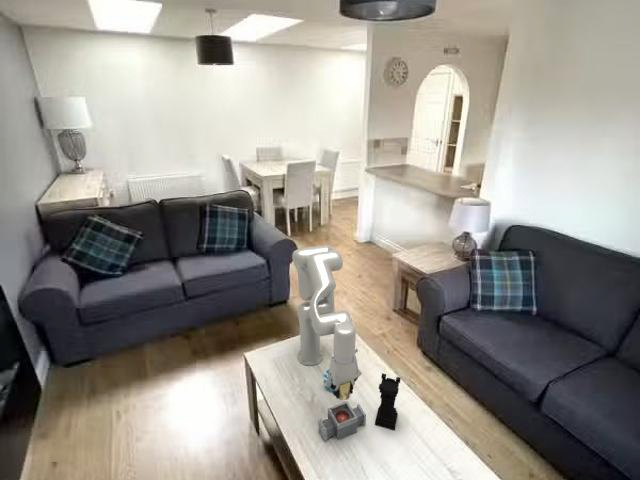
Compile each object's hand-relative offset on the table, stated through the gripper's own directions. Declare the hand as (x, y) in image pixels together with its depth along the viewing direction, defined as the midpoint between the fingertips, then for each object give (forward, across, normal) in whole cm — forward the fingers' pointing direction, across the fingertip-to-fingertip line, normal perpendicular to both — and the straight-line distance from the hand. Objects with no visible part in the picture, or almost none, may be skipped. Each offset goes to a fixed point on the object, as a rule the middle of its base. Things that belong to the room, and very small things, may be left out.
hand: (343, 393), depth 134 cm
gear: (+19, -7, -21) cm, 29 cm away
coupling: (+1, 0, 0) cm, 1 cm away
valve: (+18, 0, 0) cm, 18 cm away
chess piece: (+19, -18, +4) cm, 26 cm away
